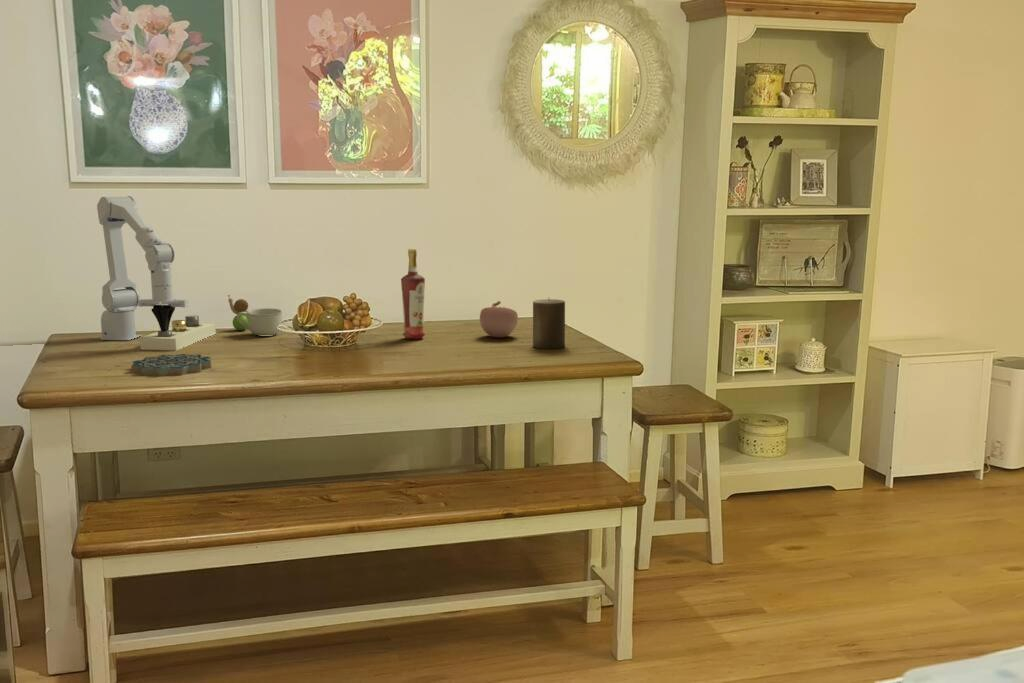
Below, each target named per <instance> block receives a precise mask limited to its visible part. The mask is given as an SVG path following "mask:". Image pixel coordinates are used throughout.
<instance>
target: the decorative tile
mask: <svg viewBox="0 0 1024 683" xmlns="http://www.w3.org/2000/svg"><path fill="white" fill-rule="evenodd" d="M207 369H208V370H209V369H212V357H211V356H202V355H201V354H187V353H186V354H185V353H181V354H162V355H161V354H160V355H158V356H148V357H144V358H143V359H139V360H133V361H132V364H131V373H133V374H136V373H137V374H140V375H141V376H155V377H156V376H157V377H164V376H184V375H187V374H190V373H201V372H202V370H207Z"/></svg>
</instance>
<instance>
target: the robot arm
mask: <svg viewBox="0 0 1024 683" xmlns="http://www.w3.org/2000/svg"><path fill="white" fill-rule="evenodd" d="M96 210H97V215H98V222H99V224H100V225H101V226H102V231H103V237H104V239H103V240H104V245H105V253H106V259H107V265H108V266H107V267H108V275H109V280H108V281H107V282H106V283H105V284H104V285H103V286H102V287H101V288H102V293H101V294H102V295H101V304H102V306H103V307H104V309H105V310H104V311H103V312H102V313H101V316H100V325H101V326H100V328H101V338H100V341H101V340H102V341H132V340H134V338H135V339H137V337H138V338H140V337H139V336H141V337H143V336H142V334H136V329H137V328H136V318H135V317H136V316H135V315H136V314H135V310H137V307H140V308H141V307H142V308H143V307H152V308H151V312H152V314H153V315H154V317H155V318H156V321H157V323H158V325H159V329H160V330H161V331H168V330H169V328H170V325H171V324H170V323H171V321H172V320H171V319H172V316H173V314H174V312H175V310H176V308H187V307H188V306H189V303H188V302H189V300H187V299H176V298H175V299H174V294H173V293H174V292H173V280H172V278H173V275H172V263H173V261H174V260H175V250H174V248H173V246H172V244H171V243H166V242H165V241H163V240H162V239H161V238H160V237H159V235H158V234H157V232H156V231H155V230H154V228H152V227H150V226H147V225H146V223H145V222H144V221H143V218H142V217H141V215H140V213H139V212H138V202H137V201H136V200H135V198H134V196H132V195H127V196H101V197H100V198H99V200H98V202H97V205H96ZM126 224H127V225H128V226H129V227H130V228H131V229H132V230H133V231H134V232H135V237H134V238H135V240H136V242H137V243H138V244H139V245H140V246H141V248H142V249H143V251H144V252H145V254H144V257H145V261H146V263H147V268H148V270H149V271H150V283H151V295H152V296H151V299H149V298H147V299H146V298H145V299H142V298H140V294H139V292H138V287H137V284H136V282H134V281H132V280H131V279H130V278H129V277H128V270H127V263H126V256H125V255H126V253H125V249H124V248H125V247H124V240H123V234H122V228H123V226H124V225H126ZM120 288H121V289H120ZM131 339H132V340H131Z"/></svg>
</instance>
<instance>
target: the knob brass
mask: <svg viewBox="0 0 1024 683" xmlns="http://www.w3.org/2000/svg"><path fill="white" fill-rule="evenodd" d="M171 327H172V331H174V332H181V331H186V320H185V319H175V320H171Z"/></svg>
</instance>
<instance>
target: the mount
mask: <svg viewBox="0 0 1024 683" xmlns="http://www.w3.org/2000/svg"><path fill="white" fill-rule="evenodd" d="M169 330H172V326H169ZM214 334H216V335H217V332H216V323H199V326H196V327H186V331H181V332H174V331H172V336H171V337H158V331H157V332H153V333H150V334H148V335H144V336H141V337H139V343H140V350H141V349H142V350H147V351H179V350H182V349H183V347H184V348H186V347H188V345H189V346H192V345H194V344H196V343H198V342H197V341H199V342H201V341H203V340H202V339H204V338H206V339H208V338H207V337H209V336H211V337H213V336H212V335H214ZM214 336H215V335H214ZM209 338H210V337H209ZM200 340H201V341H200ZM204 340H205V339H204ZM195 342H196V343H195ZM193 343H194V344H193ZM142 350H141V351H142Z"/></svg>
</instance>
